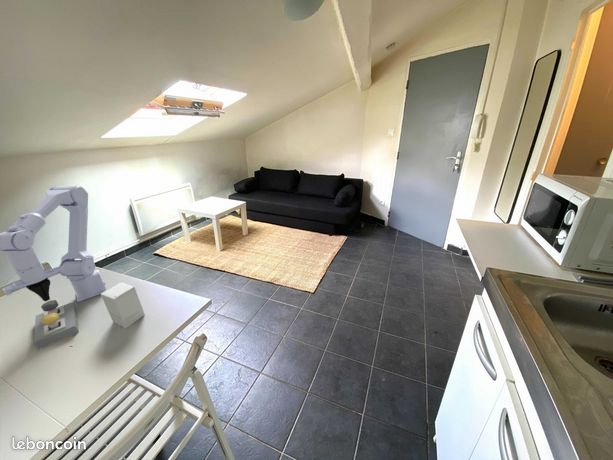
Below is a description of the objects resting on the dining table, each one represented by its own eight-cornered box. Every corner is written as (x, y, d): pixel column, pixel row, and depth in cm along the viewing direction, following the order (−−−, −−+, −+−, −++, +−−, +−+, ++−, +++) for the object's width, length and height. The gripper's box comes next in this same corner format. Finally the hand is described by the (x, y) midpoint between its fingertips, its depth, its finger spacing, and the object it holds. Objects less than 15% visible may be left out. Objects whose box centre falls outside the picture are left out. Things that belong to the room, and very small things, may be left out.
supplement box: (145, 314, 95) (135, 286, 90) (125, 328, 89) (113, 299, 84) (132, 309, 98) (121, 281, 92) (112, 322, 92) (99, 293, 86)
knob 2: (63, 321, 89) (57, 310, 87) (63, 328, 86) (57, 317, 84) (47, 328, 86) (40, 316, 84) (47, 334, 84) (40, 323, 82)
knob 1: (62, 309, 95) (56, 298, 92) (62, 315, 92) (56, 304, 90) (47, 314, 92) (41, 303, 90) (47, 320, 89) (41, 309, 87)
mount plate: (75, 308, 99) (71, 301, 97) (78, 332, 88) (74, 324, 86) (39, 322, 93) (34, 314, 91) (38, 349, 82) (33, 341, 80)
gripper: (50, 253, 91) (66, 284, 97) (-9, 274, 79) (13, 308, 85) (59, 257, 88) (75, 290, 93) (-2, 280, 76) (21, 316, 82)
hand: (46, 299), depth 89 cm, fingers closed
